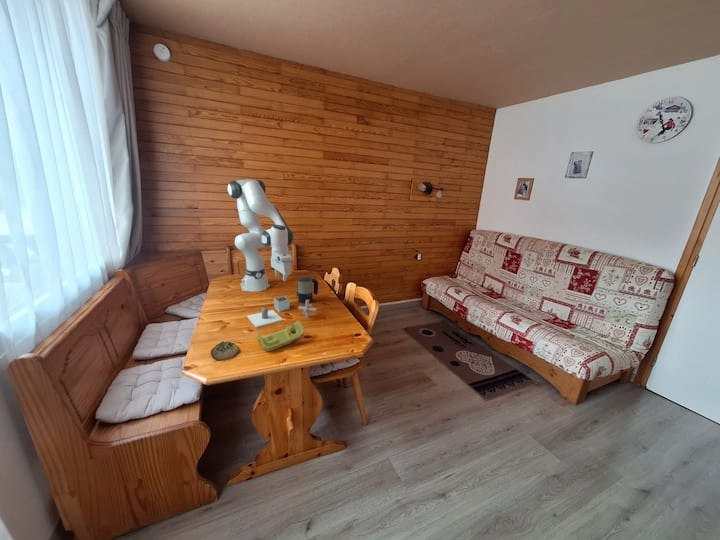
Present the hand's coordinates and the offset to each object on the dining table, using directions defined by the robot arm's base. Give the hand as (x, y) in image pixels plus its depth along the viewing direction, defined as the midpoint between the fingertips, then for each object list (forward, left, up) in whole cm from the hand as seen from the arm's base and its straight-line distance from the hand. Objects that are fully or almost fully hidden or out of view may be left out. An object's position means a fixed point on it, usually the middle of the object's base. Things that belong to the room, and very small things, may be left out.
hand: (281, 278), depth 156 cm
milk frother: (-7, +18, -19) cm, 27 cm away
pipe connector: (+18, +7, -19) cm, 27 cm away
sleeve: (0, 0, -19) cm, 19 cm away
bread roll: (+29, -38, -19) cm, 51 cm away
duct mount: (+8, -13, -19) cm, 24 cm away
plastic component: (+34, -15, -19) cm, 42 cm away
